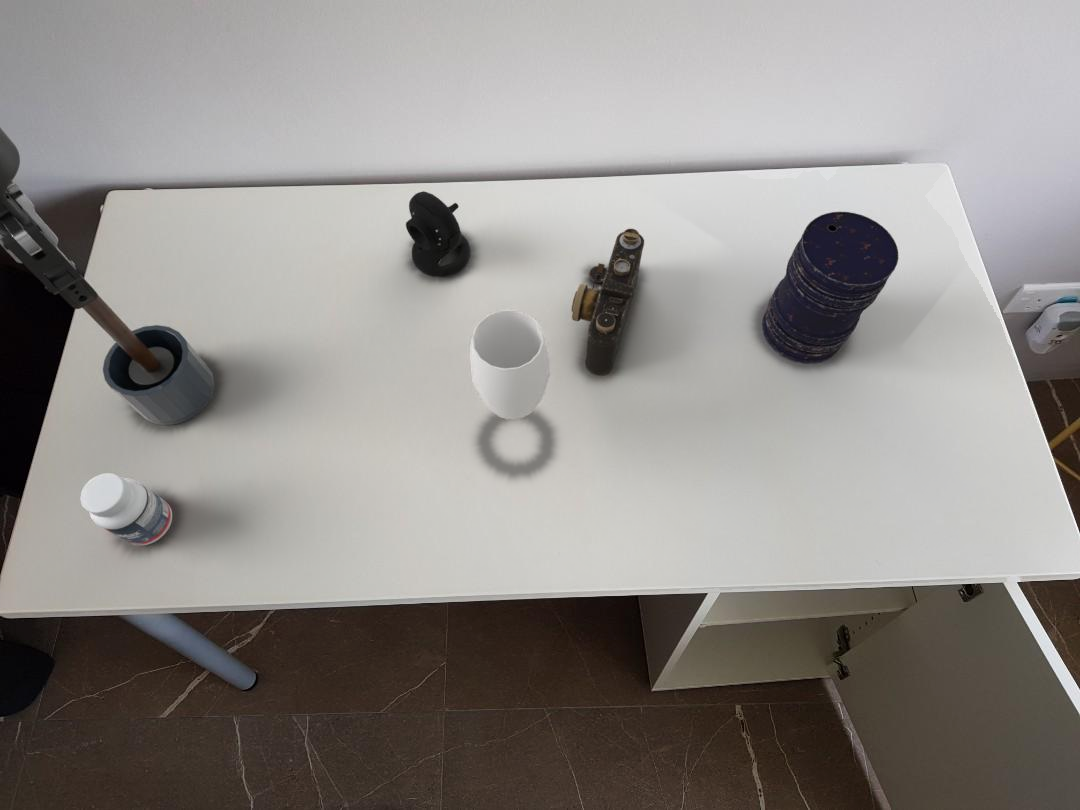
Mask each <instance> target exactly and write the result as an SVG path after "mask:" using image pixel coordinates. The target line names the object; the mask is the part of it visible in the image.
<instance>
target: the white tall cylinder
mask: <svg viewBox="0 0 1080 810" xmlns="http://www.w3.org/2000/svg"><path fill="white" fill-rule="evenodd" d="M469 359H470V370H471V379H472V380H471V381H472V385H473V387H474V389H475V390H476V392H477V395H478V396H479V398H480V400H481V401H482V403H483V404H484V406H485V407H486V408H487V409H488V410H489V411H490V412H491V413H493V414H494V415H496V416H497V417H499V418H502V419H506V420H518V419H519V420H521V419H522V418H524V417H527V416H528V415H530V414H532V412H533V411H534V410H535V409H536V408H537V407H538V406H539V404H540V403H541V402H542V400H543V398H544V395H545V391H546V389H547V386H548V383H549V379H550V376H551V368H550V355H549V350H548V344H547V340H546V337H545V333H544V330H543V328H542V326H541V325H540V323H539V322H538V321H537V320H536V318H534V317H533V316H532V315H529V314H528V313H526V312H525V311H521V310H515V309H513V308H512V309H511V308H509V309H504V310H503V309H502V310H501V309H500V310H496V311H494V312H492V313H489V314H487V315H485V316H483V318H482V319H481V320H480V321H479V322H478V323H477V324H476V325H475V327H474V330H473V333H472V335H471V337H470V347H469Z"/></svg>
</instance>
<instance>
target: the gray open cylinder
mask: <svg viewBox="0 0 1080 810" xmlns="http://www.w3.org/2000/svg"><path fill="white" fill-rule="evenodd" d="M131 331H132V332H133V333H134V334H135V335H136V336H137V337H138V339H139V340H140V341H141V342H142V343H143V344H144V345H145V346H146V347H147V348H151V347H162V348H165V349H167V350H169V351H170V352H171V353H172V354H173V355H174V356H175V357H176V359H177V360H178V361H179V362H180V365H179V367H178V369H177V370H176V371H175V372H174V374H173V375H172V376H171V377H170V378H169V379H168V380H166V381H165V382H163V383H162V384H160V385H159V386H156V387H153V388H151V389H148V390H142V389H141V388H140V387H139V386H138V385H137V384H136V383H135V382H134V381H133V380H132V379H131V378H130V375H129V365H130V363H131V361H132V360H133V359H132V358H131V357H130V356H129V355H128V354H127V353H126V352H125V351H124V350H123V349H122V348H121V347H120V346H119V345H118V344H117V343H116V342H115V343H114V344H113V345H111V347H110V349H109V350H108V352H107V353H106V355H105V357H104V361H103V365H102V374H103V379H104V381H105V383H106V384H107V385H108V387H109V388H110V389H111V391H113V392H114V393H115V394H116V395H117V396H119V397H120V398H121V399H122V400H123V401H124V402H125V403H127V404H128V405H129V406H130V407H131V408H132V409H133V410H134V411H135V412H136V413H138V414H139V415H140V416H141V417H143V419H145V420H147V421H148V422H150V423H153V424H156V425H160V426H173V425H179V424H181V423H182V424H183V423H184V422H186V421H189V420H191V419H192V418H194V417H196V416H197V415H198V414H200V413H201V412H202V411H203V410H204V409H205V408H206V406H207V405H208V404H209V402H210V401H211V399H212V397H213V394H214V391H215V377H214V374H213V373H212V370H211V369H210V368H209V366H208V365H207V364H206V363H205V361H204V360H203V359H202V358H201V356H200V355H199V354H198V353H197V351H196V350H195V349H194V347H192V345H191V344H190V343H189V342H188V340H187V339H186V338H185V337H184V336H183V335H182V333H181V332H180V331H178V330H176V329H174V328H172V327H171V326H166V325H159V324H154V325H146V326H141V327H139V328H136V329H134V330H131Z"/></svg>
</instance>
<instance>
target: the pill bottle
mask: <svg viewBox="0 0 1080 810" xmlns="http://www.w3.org/2000/svg"><path fill="white" fill-rule="evenodd" d="M80 503H81V505H82V507H83V509H85V510H86V511H87V512H88V513H89V516H90V518H91V520H92V521H93V522H94V523H95V524H96V525H97V526H99V527H100V528H101V529H104V530H106V531H107V532H109V533H111V534H113V535H114V536H116V537H119V539H122V540H123V541H125V542H127V543H129V544H130V545H134V546H147V545H151V544H153V543H156V542H157V541H159V540H160V539H161V538H162V537H164V535H165V534H166V533H167V532H168V530H169V529H170V527H171V524H172V522H173V510H172V508H171V506H170V505H169V503H168V502H166V501H165V499H163V498H162V497H160V496H159V495H157V494H156V493H154V492H153V491H152V490H150V489H149V488H147V487H146V486H145V485H144V484H142V483H141V482H139V481H138V480H136V479H133V478H130V477H121V476H119V475H118V474H116V473H113V472H104V473H100V474H98V475H96V476H94V477H92V478H91V479H90V480H88V482H86V483H85V485H84V486H83V488H82V490H81V492H80Z"/></svg>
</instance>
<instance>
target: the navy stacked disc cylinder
mask: <svg viewBox="0 0 1080 810" xmlns="http://www.w3.org/2000/svg"><path fill="white" fill-rule="evenodd" d="M898 261H899V249H898V245H897V243H896V241H895V239H894V237H893V235H892V234H891V233H890V232H889V231H888V230H887V229H886V228H885V227H884V226H883V225H881V224H880V223H878V221H876V220H874V219H872V218H870V217H868V216H865V215H863V214H859V213H856V212H851V211H832V212H831V211H830V212H827V213H823V214H820V215H818V216H817V217H815V218H814V219H812V220H810V222H809V223H808V224H807V226H806V227H805V229H804V230H803V232H802V234H801V236H800V239H799V240H798V242H796V245H795V247H794V249H793V251H792V253H791V256H790V257H789V259H788V261H787V265H786V270H785V271H786V272H785V275H784V277H783V278H782V279H781V280H780V281H779V282H778V284H777V285H776V286H775V289H774V291H773V293H772V295H771V297H770V299H769V301H768V304H767V308H766V310H765V312H764V313H763V316H762V320H761V328H762V329H761V330H762V334H763V336H764V339H765V341H766V342H767V344H768V345H769V346H770V347H771V348H772V350H774V352H776V353H777V354H778V355H780V356H781V357H783V358H785V359H786V360H789V361H792V362H795V363H799V364H807V365H811V364H818V363H822V362H826V361H828V360H829V359H831V358H833V357H834V356H835V355H836V354H837V353H838V352H839V350H840V349H841V348H842V346H843V345H844V344H845V343H847V341H848V340H849V338H850V337H851V335H852V333H854V331H855V329H856V328H857V325H858V324H859V321H860V320H861V319H860V318H861V315H862V313H863V312H864V311H865V310H866V309H868V308H869V307H870V306H871V305H873V304H874V302H875V301H876V299H878V296H879V295H880V293H881V291H882V290H883V289H884V288H885V286H886V284H887V281H888V280H889V278H890V277H891V275H892V274H893V273H894V272H895V270H896V267H897V265H898Z"/></svg>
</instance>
